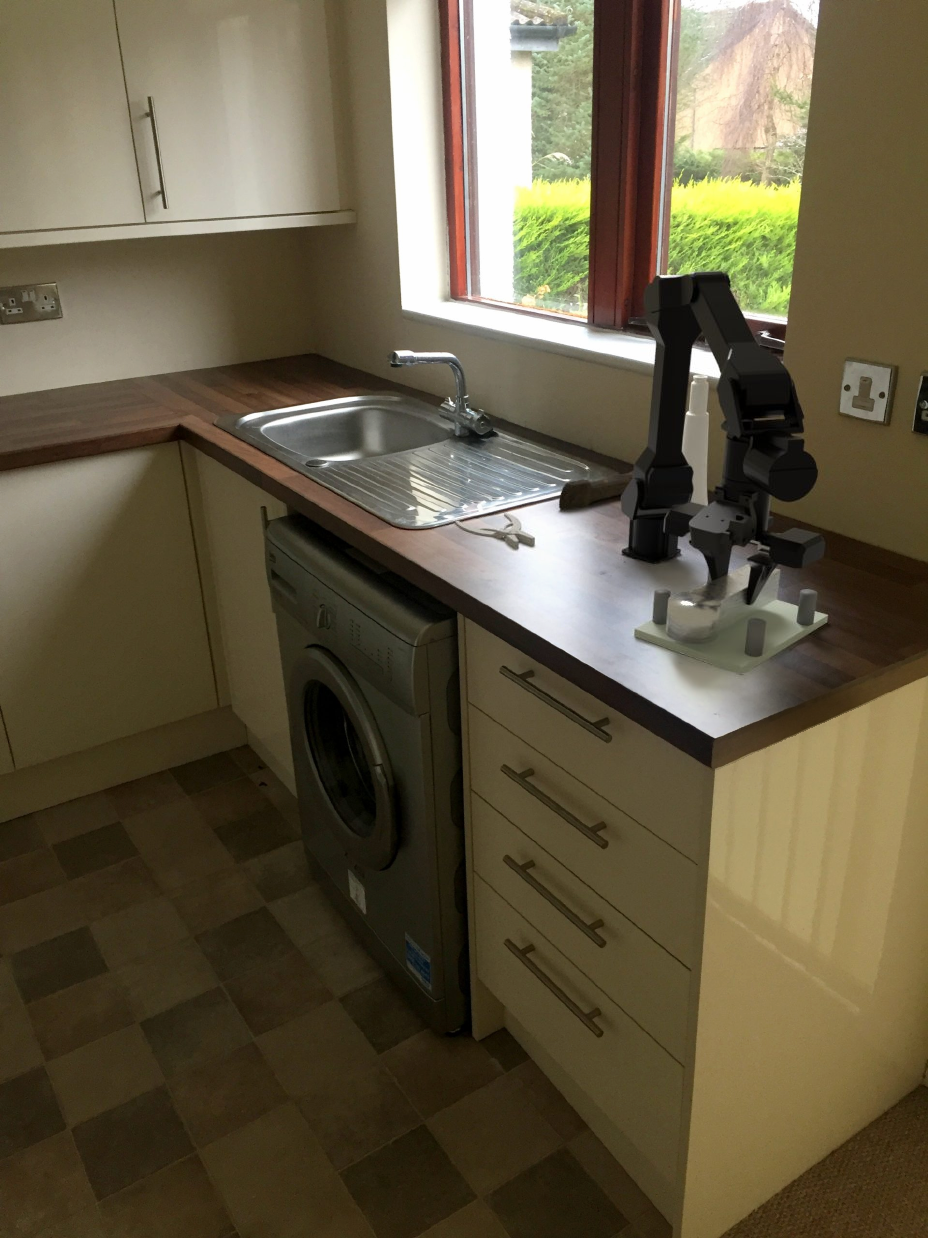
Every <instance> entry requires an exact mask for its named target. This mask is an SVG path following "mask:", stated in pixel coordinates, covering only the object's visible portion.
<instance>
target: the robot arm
mask: <svg viewBox="0 0 928 1238" xmlns="http://www.w3.org/2000/svg"><path fill="white" fill-rule="evenodd" d="M730 278H731V277H730V276H729V274H728V273H727V272H723V271H722V270H704V271H703V270H702V271H700V270H699V271H691V272H690V273H687V274H667V275H666V274H662V275H659V274H658V275H655V277H653V278H652V281H651V282H649V283H648V284H647V285H646V286H645V288H644V291H643V307H644V310H645V323H646V325H647V327H648V328H649V331H650V333H651V334H652V337H653V338H654V341H655V350H654V351H655V353H654V362H653V363H654V364H653V365H654V366H653V377H652V385H651V386H652V389H651V399H650V400H651V401H650V411H649V412H650V414H649V423H648V436H647V444H646V447H645V448H644V450H643V451H642V452H641V454H640V456H639V457H638V459H637V460H636V461H635V463H634V466H633V470H634V471H633V470H632V471H633V477H632V479H631V481H630V482H629V484H628V486H627V487H626V489H625V491H624V492H623V494H622V495H620V507H621V512H622V513H623V514H624V515H626V517H627V518H628V519H629V526H628V527H629V528H628V529H629V530H628V542H627V543H628V544H627V545H628V546H626V547H625V548H622V549H621V554H622V555H627V556H628V557H629V556H630V557H633V558H636V559H640V560H643V561H646V562H650V563H652V564H653V563H654V564H659V563H661V562H663V561H665V560H667V559H669V558H672V557H674V556H676V555H679V554H681V551H682V549H681V548H678V546H679V538H683V537H686V536H687V535H688V534H690V539H689V540H688V543H689V545H690V546H691V547H692V548H694V549H696V550H698V551H699V552H700V553H701V554H702V555H703V558H704V560H705V563H706V566H707V569H709V573H710V576H711V580H712V581H714V580H716V579H718V578H720V577H722V576H724V575H726V574H728V573H729V568H730V561H731V555H732V551H733V547H734V546H737V547H741V548H745V547H746V546H747V545H748V544H751V545H754V546H757V553H755V554H753V555H751V556H749V557H747V558H746V561H747V564H749V565H750V575H749V582H748V588H747V605H749V606H750V605H752V604H753V603H754V602H755V600H756V599H757V597H758V595H759V593H760V592H761V590H762V588H763V587H764V585H765V583H766V582H767V580H768V578H769V577H770V575H771V574H772V572H773V571H774V569H775V568H776V569H777V567H778V566H779V565H780V566H784V567H788V568H792V569H794V570H795V569H803V568H806V567H807V566H809V565H811V564H812V563H814V562H817V561H818V560H821V559H822V558H824V556H825V547H826V543H825V540H824V538H823V536H822V534H821V533H817V532H813V531H810V530H806V529H803V528H802V529H801V528H798V527H792V528H789V529H788V530H786V531H784V532H782V533H778V532H777V533H776V532H773V531H769V530H768V528H769V527H771V526H773V525H774V516H771V515H770V507H771V498H772V497H773V498H775V499H777V500H778V501H781V502H784V503H793V502H795V501H799V500H801V499H803V498H805V496H807V495H808V494H809V493H810V492H811V491H812V490H813V488H814V487H815V484H816V482H817V479H818V476H819V469H818V467H817V465H818V464H817V462H816V460H815V457H813V456H812V454H811V453H809V452H807V451H806V450H804V448H805V443H806V442H805V441H806V440H805V439H804V438H802V437H801V436H798V435H799V434H804V432H805V427H804V423H803V422H804V421H803V420H804V419H805V415H804V412H803V408H802V406H801V402H800V399H799V397H798V393H797V390H796V386H795V381H794V379H793V378H792V375H791V373H790V371H789V370H788V368H787V367H785V365H784V364H783V362H782V361H781V360H780V358H779V356H777V355H776V354H774V353H772V352H770V351H768V350H766V349H765V348H762V347H761V346H760V344H759V343H758V342H757V340H756V337H755V335H754V334H753V330H752V329H751V328H750V327H751V326H750V325H749V323H748V321H747V320H746V317H745V316H744V313H743V311H742V309H741V307H740V306H739V303H738V302H737V299H736V297H735V296H734V294H733V292H732V290H731V286H732V285H731V279H730ZM702 334H703V336H704V338H705V341H706V342H707V345H708V347H709V349H710V351H711V353H712V355H713V357H714V359H715V362H716V365H717V366H718V370H719V374H720V375H719V378H718V381H717V384H716V392H717V399H718V404H719V406H720V409H721V412H722V414H723V417H724V419H725V420H724V421H723V422H722V423H721V424H720V428H721V430H723V431H725V432H726V435H725V446H724V456H723V466H722V474H721V475H722V476H721V483H720V484H717V485H715V486H714V490H713V495H712V496H713V497H712V499H711V501H710V503H709V504H708V505H707V506H705V505H701V504H697V503H693V502H691V498H692V494H693V491H694V488H693V487H694V486H693V482H692V479H693V473H694V471H693V469H692V467H691V466H689V464H688V462H687V460H686V458H685V456H684V454H683V453H682V444H683V434H684V425H685V418H686V413H687V412H686V411H687V404H688V392H689V382H690V372H691V363H692V353H693V346H694V344H695V343H696V341H697V340H698V338H699V337H700V336H701V335H702ZM782 416H783V418H781V417H782ZM772 418H774V419H772ZM757 419H759V420H757ZM796 435H797V436H796Z"/></svg>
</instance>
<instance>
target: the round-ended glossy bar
mask: <svg viewBox="0 0 928 1238" xmlns="http://www.w3.org/2000/svg"><path fill="white" fill-rule="evenodd" d="M749 575H750V565H749V563H747V564H745V565H743V566H741V567H739V568H737V569H735V570H732V571H730V572H728V574H726V575H724V576H722V577H720V578H718V579H716V580H714V581H712V582H710V583H708V584H707V583H706V584H704V585H702V586H700V587H698V588H696V589H694V590H692V591H685V592H683V591H682V592H678V593H674V594H671V596H670V597H669V599H668V609H667V622H666V634H667V636H668V637H670V638H671V639H673V640H675V641H678V642H681V643H686V644H706V643H710V642H712V641H714V640H716V639H717V637H718V632H719V631H720V630H722V629H724V628H726V627H728V626H729V625H731V624H733V623H735V622H737V621H738V620H740V619H742V618H744V617H746V616H747V615H749V614H751V613H753V612H755V611H756V610H758V609H760V608H762V607H764V606H766V605H767V604H769V603H771V602H773V601H775V600H778V595H779V594H778V593H779V587H780V585H779V584H780V577H781V569H779V568H777V567H776V568H775V569H774V571H773V572H772V574H771V575H770V577H769V578H768V580H767V582H766V583H765V585H764V587H763V588H762V590H761V592H760V593H759V595H758V597H757V599H756V600H755V602H754V603H753V604H752V605H750V606H749V605H747V588H748V582H749Z"/></svg>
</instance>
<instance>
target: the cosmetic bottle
mask: <svg viewBox="0 0 928 1238" xmlns="http://www.w3.org/2000/svg"><path fill="white" fill-rule="evenodd" d="M708 378H709V377H708V376H707V375H705V374H696V375H693V381H692V382H691V383H690V393H689V405H688V406H689V408H688V411H687V412H686V414H685V424H684V434H683V444H682V453H683V454H684V456H685V458H686V460H687V462H688V464H689V466H691V467H692V469H693V471H694V473H693V479H692V482H693V486H694V487H693V488H694V491H693V494H692V498H691V502H693V503H697V504H701V505H705V506H707V505H709V501H708V487H707V486H708V478H707V477H708V454H709V453H708V451H709V449H708V448H709V430H710V429H709V428H710V427H709V424H710V420H709V419H710V413H709V412H707V411H708V409H707V408H708V400H709V399H708V398H709V387H710V384H709V382H708V381H707V380H708Z"/></svg>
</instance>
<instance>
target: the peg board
mask: <svg viewBox="0 0 928 1238" xmlns="http://www.w3.org/2000/svg"><path fill="white" fill-rule="evenodd" d="M707 569H708V568H707ZM710 582H712V580H711V576H710V573H709V569H708V571H707V579H706V584H708V583H710ZM670 596H672V591H671V590H670V589H668V588H664V587H663V588H661V587H660V588H656V589H654V592H653V606H652V608H653V609H652V617H651V618H652V619H651V620H649V621H647V622H645V623H643V624H641V625H639V626H637V627H635V628H634V633H633V634H634V635H633V636H634V637H636V638H639V639H640V640H641V639H642V640H644V641H647V642H650V643H652V644H655V645H658V646H660V647H663V648H666V649H669V650H671V651H674V650H675V652H677V653H680V654H682V653H683V655H686V656H688V657H691V658H694V659H697V660H698V661H702V662H704V663H707V664H710V665H713V666H715V667H718V668H721V669H724V670H727V671H729V672H733V673H735V674H738V675H741V676H742V675H744V674H746V673H747V672H749V671H750V670H752V669H753V668H756V667H757V666H758V665H760V664H762V663H763V662H765V661H766V660H767V661H768V659H770V658H772V657H773V656H775V655H776V654H779V653H780V652H781V651H783V650H785V649H786V648H788V647H790V646H792V644H794V643H796V642H797V641H799V640H801V639H802V638H804V637H806V636H807V635H809V634H810V633H812V632H814V631H815V630H817V629H818V628H820V627H821V626H824V625H825V624H826V623H828V620H829V619H828V618H829V615H828V614H826V613H822V612H819V611H816V607H817V602H818V601H817V599H818V592H817V590H814V589H808V588H806V589H801V590H800V592H799V600H798V605H795V604H793V603H789V602H786V601H782V600H779V599H776V600H775V601H773V602H771V603H769V604H767V605H766V606H764V607H762V608H760V609H758V610H756V611H755V612H753V613H751V614H749V615H747V616H746V617H744V618H742V619H740V620H738V621H737V622H735V623H733V624H731V625H729V626H728V627H726V628H724V629H722V630H720V631H719V632H718V637H717V639H716V640H714V641H712V642H710V643H706V644H686V643H681V642H678V641H675V640H673V639H671V638H670V637H668V636H667V634H666V622H667V609H668V599H669V597H670Z"/></svg>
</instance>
